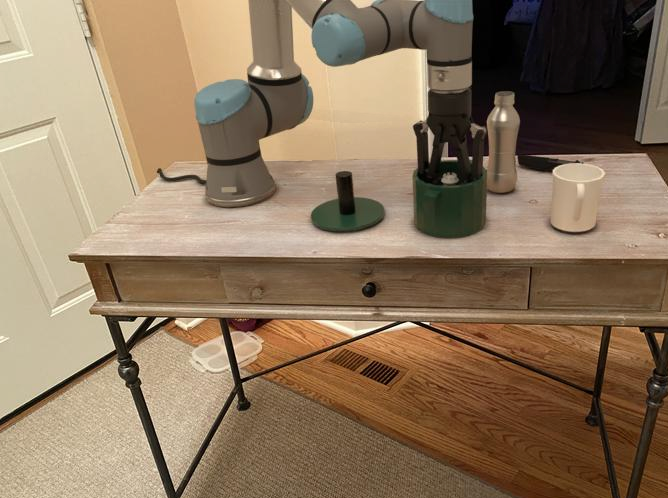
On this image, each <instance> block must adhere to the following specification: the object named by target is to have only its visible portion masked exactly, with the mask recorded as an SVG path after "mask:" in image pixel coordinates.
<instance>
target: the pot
mask: <svg viewBox="0 0 668 498" xmlns="http://www.w3.org/2000/svg"><path fill="white" fill-rule="evenodd" d="M469 160H470V165H471V170H472V159H469ZM429 164H430V162H429ZM438 173H439V175H438V176H437V178H438V177H442V178H443V175H444V174H446V175H447V173H450V175H452V173H455V174H456V175H457V178H458V179H459V180H458V182H457V183H456V186H444V184H443V183H442V186H441V185H433V184H429V183H428V180H427V178H425V177H423V176H422V177H420V176H419V175H418V167H417V168H416V169H414V170H413V173H412V198H413V202H412V203H413V222H414V226H415V228H416V229H417V230H418V232H420V233H422V234H424V235H426V236H429V237H432V238H439V239H459V238H465V237H469V236H472V235H475V234H477V233H479V232H480V231H482V230H483V229H484V228H485V226H486V223H487V197H488V196H487V195H488V194H487V193H488V188H487V168H485V167H484V166H483V175H482V176H481V177H480V178H479V179H478V180H476V181H474V182H472V183H468V184H463V185H459V184H461V183H462V180H461V175H460V170H459V166H458V161H457V159H447V160H441V163H440V167H439V172H438Z"/></svg>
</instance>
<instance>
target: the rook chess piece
mask: <svg viewBox="0 0 668 498" xmlns="http://www.w3.org/2000/svg"><path fill="white" fill-rule="evenodd" d="M458 180H459V179H458V178H457V175H456V174H455V173H452V175H450V173H447V175H446V174H444V175H443V178H442V179H441V181H442V183H443V184H444V186H456V183H457V182H458Z"/></svg>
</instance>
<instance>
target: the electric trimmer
mask: <svg viewBox="0 0 668 498" xmlns="http://www.w3.org/2000/svg"><path fill="white" fill-rule="evenodd" d="M516 158H517V163H518V165H520V166H523V167H527V168H531V169H535V170H538V171H542V172H545V171H552V172H553V169H554V168H556V167H558V166H560V165H564V164H572V163H581V164H585V163H584V161H582V162H581V161H580V160H578V159H576V160H574V161H572V160H567V159H566V160H565V159H559V158H554V157H553V158H552V157H549V156H548V157H547V156H539V155H538V156H537V155H529V154H521V153H519V154H517V157H516Z"/></svg>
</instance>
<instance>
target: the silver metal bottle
mask: <svg viewBox="0 0 668 498" xmlns="http://www.w3.org/2000/svg"><path fill="white" fill-rule="evenodd" d="M493 102H494V103H493V104H494V105H495V106H494V108H493V109H492V110H491V111H490V113H489V115H488V116H487V120H486V127H487V128H488V131H487V136H488V137H487V138H488V158H487V159H488V160H487V168H486V170H487V190H489V191H490V192H492V193H499V194H501V193H502V194H503V193H508V192H511V191H514V189H515V188H516V185H517V182H518V172H517V165H516V164H517V163H516V162H517V161H516V151H517V141H518V140H517V139H518V135H519V130H520V124H521V119H520V115H519V113H518V111H517V110H516V109H515V107H514V106H513V105H514V104H515V92H513V91H499V92H498V91H497V92H496V93H495V95H494V101H493Z"/></svg>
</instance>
